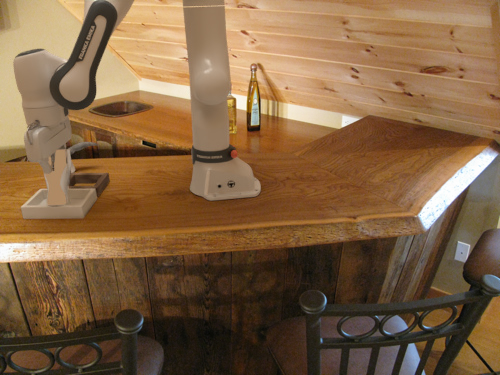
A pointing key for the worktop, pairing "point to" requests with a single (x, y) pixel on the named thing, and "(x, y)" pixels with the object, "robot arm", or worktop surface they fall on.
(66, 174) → the beer glass
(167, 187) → the worktop surface
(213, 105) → the robot arm
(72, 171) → the inkwell
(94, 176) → the walnut collar
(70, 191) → the cream white tray
